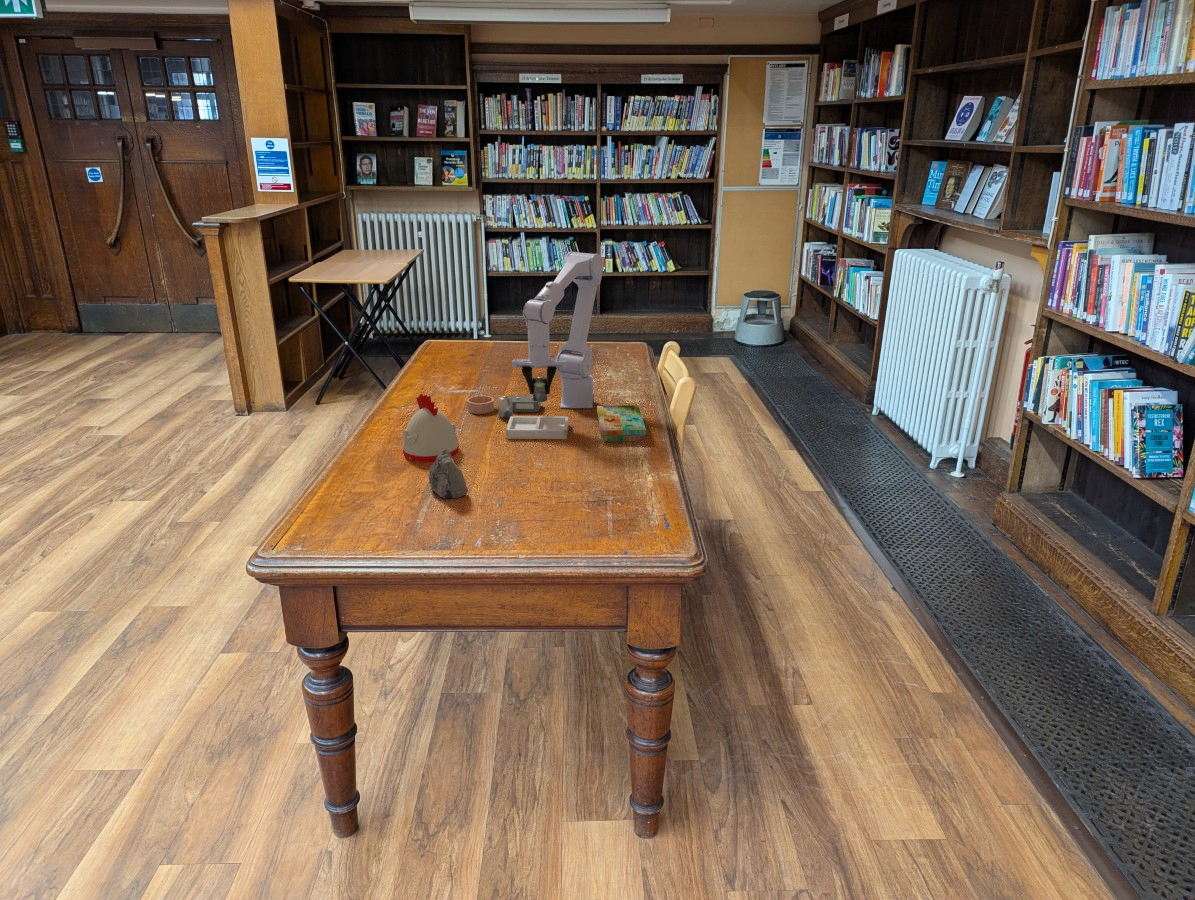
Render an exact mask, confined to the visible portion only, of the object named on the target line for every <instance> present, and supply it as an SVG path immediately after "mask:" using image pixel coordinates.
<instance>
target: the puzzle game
mask: <svg viewBox="0 0 1195 900" xmlns="http://www.w3.org/2000/svg"><path fill="white" fill-rule="evenodd" d="M596 413H597V419H598V425H599V430H600V436H601V438H602V439H603V440H604V442H606V441H608V442H641V441H642V440H643V439H644V438H645V437H646V435H647V428H646V425H645V423H644V419H643V415H642V414H641V410H640V407H639V405H638V404H626V405H625V404H624V405H621V404H620V405H619V404H618V405H616V404H615V405H597V406H596Z"/></svg>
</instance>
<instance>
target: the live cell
mask: <svg viewBox="0 0 1195 900" xmlns="http://www.w3.org/2000/svg"><path fill="white" fill-rule="evenodd" d="M532 386H533V394H532V396H533V401H535V402H540V403H543V402H546V401H548V394H547V377H545V376H535V377H532Z"/></svg>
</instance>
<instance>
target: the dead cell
mask: <svg viewBox="0 0 1195 900" xmlns="http://www.w3.org/2000/svg"><path fill="white" fill-rule="evenodd" d="M512 397H513V396H512V395H506V394H505V395H500V396H498V397H497V410H498V411H497V412H498V419H499V420H500V419H501V421H509V419H510V416H514V412H513V408H512Z"/></svg>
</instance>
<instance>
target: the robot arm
mask: <svg viewBox="0 0 1195 900" xmlns="http://www.w3.org/2000/svg"><path fill="white" fill-rule="evenodd" d="M604 268H605V265H604V261H603V258H602V255H601V254H599V253H588V252H587V253H586V252H579V251H578V252H577V251H569V252H568V253H567V254H566V255H565V257H564V258H563V267H562V268H561V270H560V272H559V273H558V274H557V276H556V277H555V279H554V281H548V282H546V283H545V285H544V286H543V288H542V289H541V290H540V291H539V292H538V294H537V295H536V296H535V297H534V298H533V299H529V300H528V301H527V302H525V304H524V306H523V311H522V316H523V319H524V321H525V326H526V328H527V343H528V344H527V345H528V358H522V359H521V358H520V359H518V358H517V359H512V361H511V363H512V365H511V366H512V367H511V368H512V369H519V368H521V373H522V375H523V376H524V379H525V381H526V384H527V386H528V390H529V391H528V392H529V395H533V386H532V379H533V368H534V369H536V368H537V369H538V368H542V369H543V368H544V369H546V378H547V395H550V393H551V386H552V382H553V380H554V377H555V375H556V372H558V373H559V376H561V398H560V399H561V400H560V406H559V408H560V409H593V407H594V406H593V405H594V404H593V403H594V401H595V394H594V377H593V376H594V375H590V374H591V372H592V370H593V365H594V363H593V356H594V355H593V354H594V352H593V350H592V349H591V348H590V347H589V346H588V345H587V340H588V337H589V336H588V335H589V330H590V325H591V320H592V315H593V309H594V304H595V299H596V293H597V291H598V290H597V289H598V286H600V285H601V281H602V277H603V272H604ZM572 282H573V283H574V284H576V285H577V287H578V291H577V295H576V301H575V304H574V311H573V315H572V321H571V326H570V331H569V337H568V340H567V341H566V342H564V343H563V344H561V345H560V346H559V350H558V353H557V355H556V357H555V358H551V354H550V345H551V343H550V322H551V321H552V320H553V317H554V313H555V311H556V307H557V306H558V304H559V303H560V302H561V301H562V299H563V298H564V296H565V289H566V288H567V287H568V286H569V285H570V284H571V283H572Z"/></svg>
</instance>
